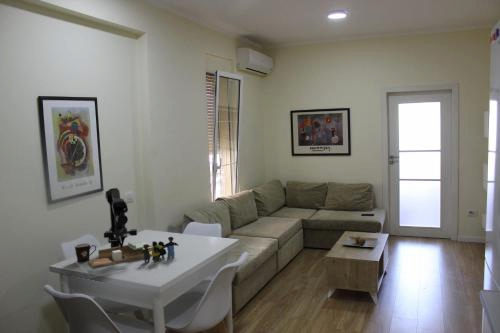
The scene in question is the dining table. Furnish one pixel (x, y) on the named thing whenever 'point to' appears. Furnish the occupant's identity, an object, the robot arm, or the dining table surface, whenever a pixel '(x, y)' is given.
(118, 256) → the cream block
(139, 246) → the sage cover
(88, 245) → the coffee mug
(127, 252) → the puzzle board
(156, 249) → the doll family
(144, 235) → the dining table surface
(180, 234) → the dining table surface
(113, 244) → the robot arm
